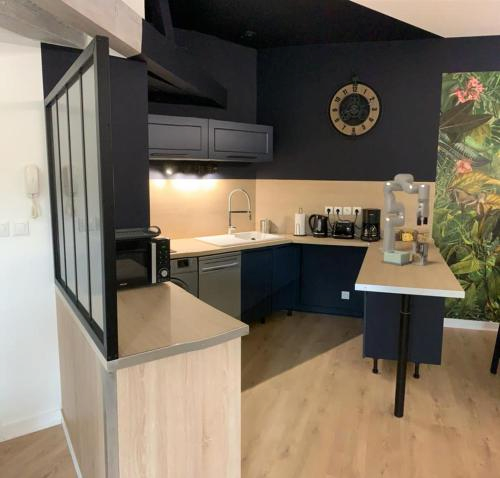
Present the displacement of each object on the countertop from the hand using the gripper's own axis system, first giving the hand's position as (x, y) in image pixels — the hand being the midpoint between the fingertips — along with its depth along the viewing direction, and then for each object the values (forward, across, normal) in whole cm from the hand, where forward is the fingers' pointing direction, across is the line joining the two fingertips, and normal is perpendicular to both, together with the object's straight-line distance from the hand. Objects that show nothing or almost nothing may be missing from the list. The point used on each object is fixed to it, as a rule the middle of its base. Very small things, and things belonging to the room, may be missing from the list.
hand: (422, 225), depth 327 cm
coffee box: (+29, 0, 0) cm, 29 cm away
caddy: (+29, -8, +14) cm, 33 cm away
